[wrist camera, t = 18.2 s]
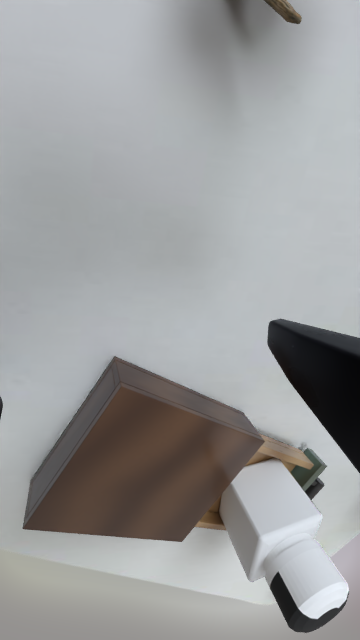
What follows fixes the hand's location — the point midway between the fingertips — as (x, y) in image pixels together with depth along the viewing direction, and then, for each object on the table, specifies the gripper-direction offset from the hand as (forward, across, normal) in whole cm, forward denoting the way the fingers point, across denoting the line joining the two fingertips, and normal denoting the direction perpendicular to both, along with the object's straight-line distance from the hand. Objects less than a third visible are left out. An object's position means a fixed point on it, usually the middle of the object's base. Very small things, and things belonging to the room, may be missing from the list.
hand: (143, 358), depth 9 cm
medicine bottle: (+11, -10, +28) cm, 31 cm away
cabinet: (+12, +1, +18) cm, 22 cm away
